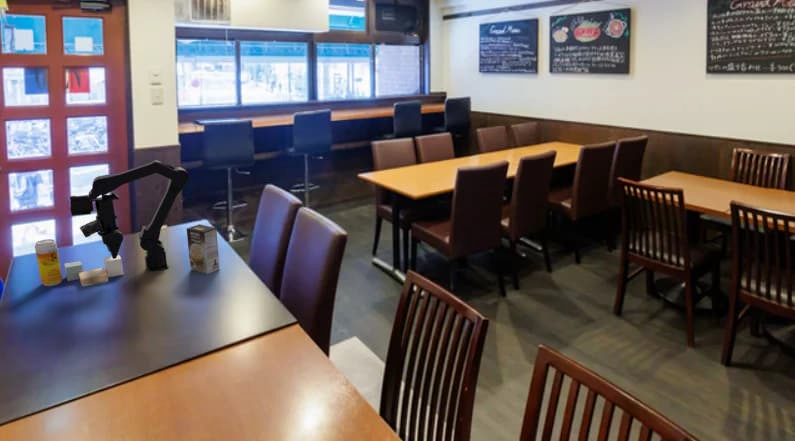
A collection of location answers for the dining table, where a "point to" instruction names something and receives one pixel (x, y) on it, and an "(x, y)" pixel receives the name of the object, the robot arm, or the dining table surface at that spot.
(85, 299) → the dining table surface
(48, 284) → the beer can
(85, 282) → the beech slab
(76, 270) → the teal grey cube
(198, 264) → the coffee box
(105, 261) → the white block
